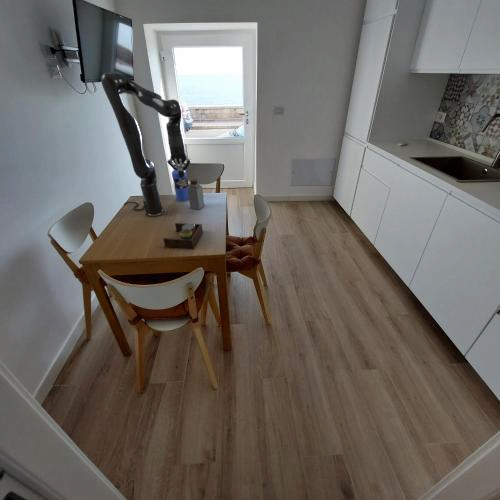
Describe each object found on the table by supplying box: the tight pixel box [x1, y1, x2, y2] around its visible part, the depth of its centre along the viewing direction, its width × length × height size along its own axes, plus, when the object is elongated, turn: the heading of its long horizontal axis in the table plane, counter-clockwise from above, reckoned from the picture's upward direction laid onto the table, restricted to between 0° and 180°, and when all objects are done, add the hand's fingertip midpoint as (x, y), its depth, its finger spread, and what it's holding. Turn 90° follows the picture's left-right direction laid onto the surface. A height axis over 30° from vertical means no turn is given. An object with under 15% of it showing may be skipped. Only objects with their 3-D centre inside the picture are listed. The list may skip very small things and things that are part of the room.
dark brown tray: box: [163, 222, 204, 250], centre depth 144 cm, size 15×17×5 cm
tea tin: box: [179, 229, 192, 240], centre depth 140 cm, size 6×6×7 cm
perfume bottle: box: [187, 178, 205, 210], centre depth 174 cm, size 7×7×18 cm
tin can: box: [182, 223, 196, 237], centre depth 147 cm, size 7×7×6 cm
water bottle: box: [171, 163, 189, 202], centre depth 184 cm, size 9×9×25 cm
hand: (182, 177), depth 149 cm, fingers closed
